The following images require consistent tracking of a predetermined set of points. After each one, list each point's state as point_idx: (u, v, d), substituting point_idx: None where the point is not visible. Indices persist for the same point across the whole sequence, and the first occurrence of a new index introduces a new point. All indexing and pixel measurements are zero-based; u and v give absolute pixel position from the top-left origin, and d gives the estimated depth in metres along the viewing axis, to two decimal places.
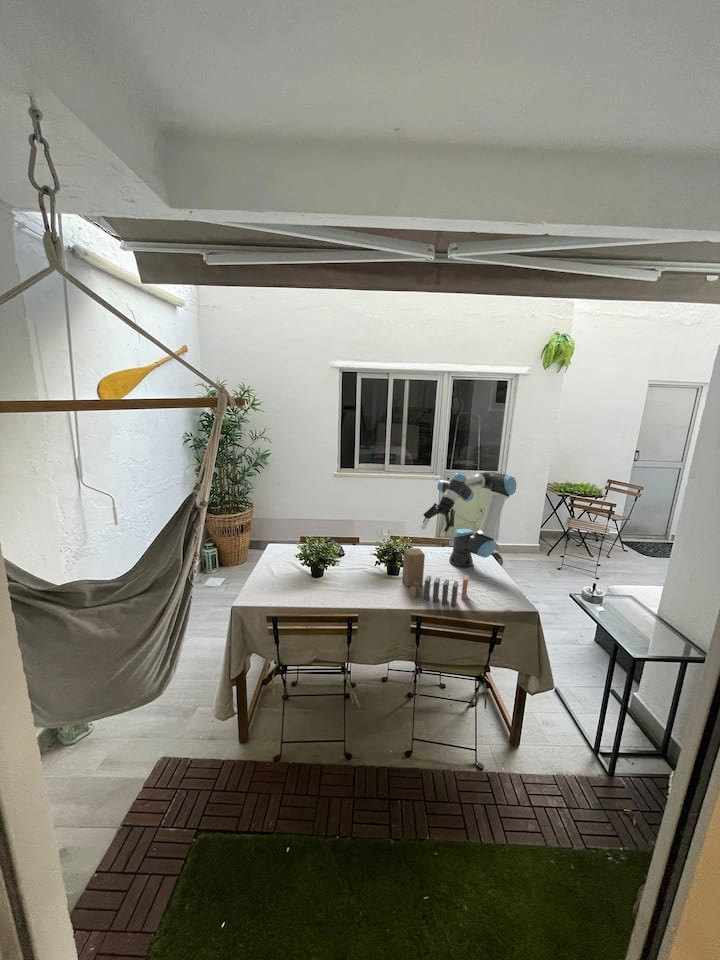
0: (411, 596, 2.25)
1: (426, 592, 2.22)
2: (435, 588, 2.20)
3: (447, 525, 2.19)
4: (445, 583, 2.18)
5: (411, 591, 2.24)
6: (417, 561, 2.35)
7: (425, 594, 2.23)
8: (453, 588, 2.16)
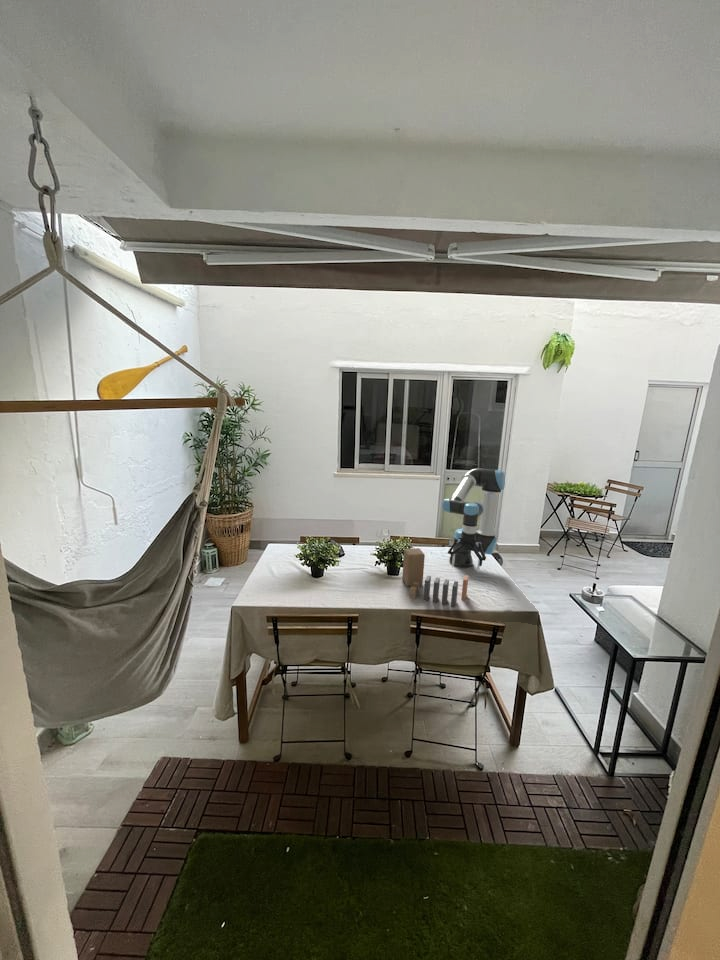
0: (411, 596, 2.25)
1: (426, 592, 2.22)
2: (435, 588, 2.20)
3: (481, 560, 2.19)
4: (445, 583, 2.18)
5: (411, 591, 2.24)
6: (417, 561, 2.35)
7: (425, 594, 2.23)
8: (453, 588, 2.16)
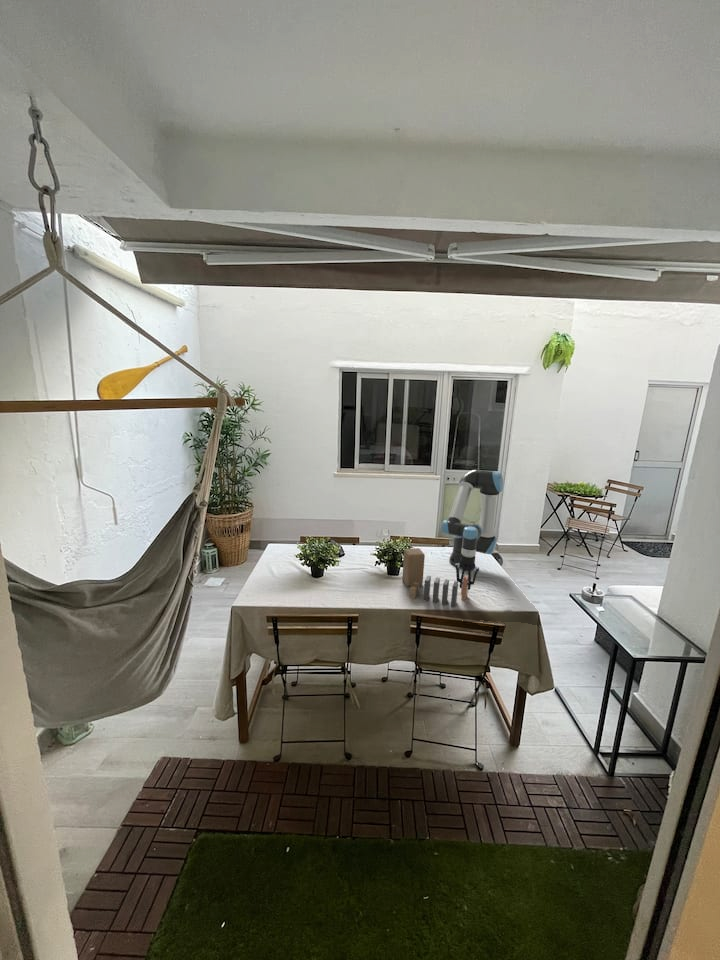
0: (411, 596, 2.25)
1: (426, 592, 2.22)
2: (435, 588, 2.20)
3: (469, 584, 2.24)
4: (445, 583, 2.18)
5: (411, 591, 2.24)
6: (417, 561, 2.35)
7: (425, 594, 2.23)
8: (453, 588, 2.16)
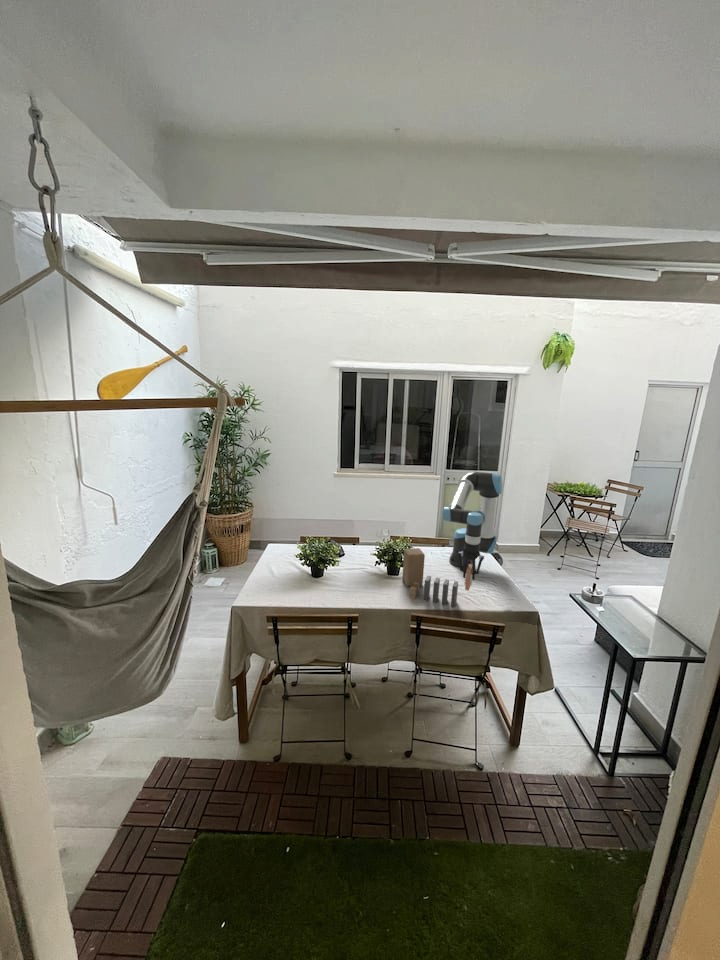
0: (411, 596, 2.25)
1: (426, 592, 2.22)
2: (435, 588, 2.20)
3: None
4: (445, 583, 2.18)
5: (411, 591, 2.24)
6: (417, 561, 2.35)
7: (425, 594, 2.23)
8: (453, 588, 2.16)
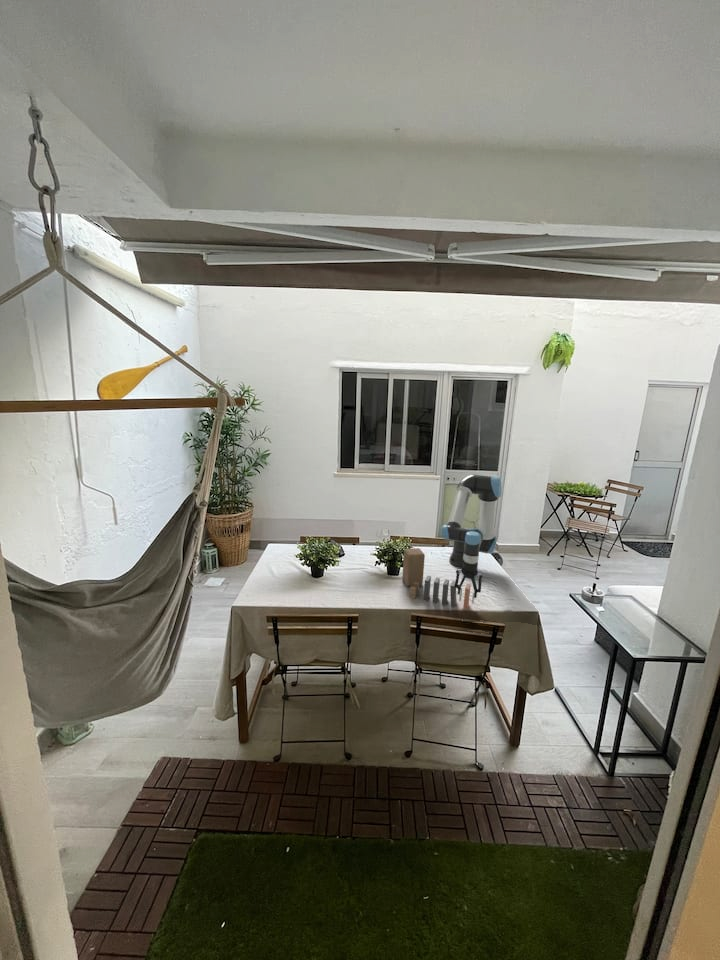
0: (411, 596, 2.25)
1: (426, 592, 2.22)
2: (435, 588, 2.20)
3: None
4: (445, 583, 2.18)
5: (411, 591, 2.24)
6: (417, 561, 2.35)
7: (425, 594, 2.23)
8: (451, 588, 2.16)
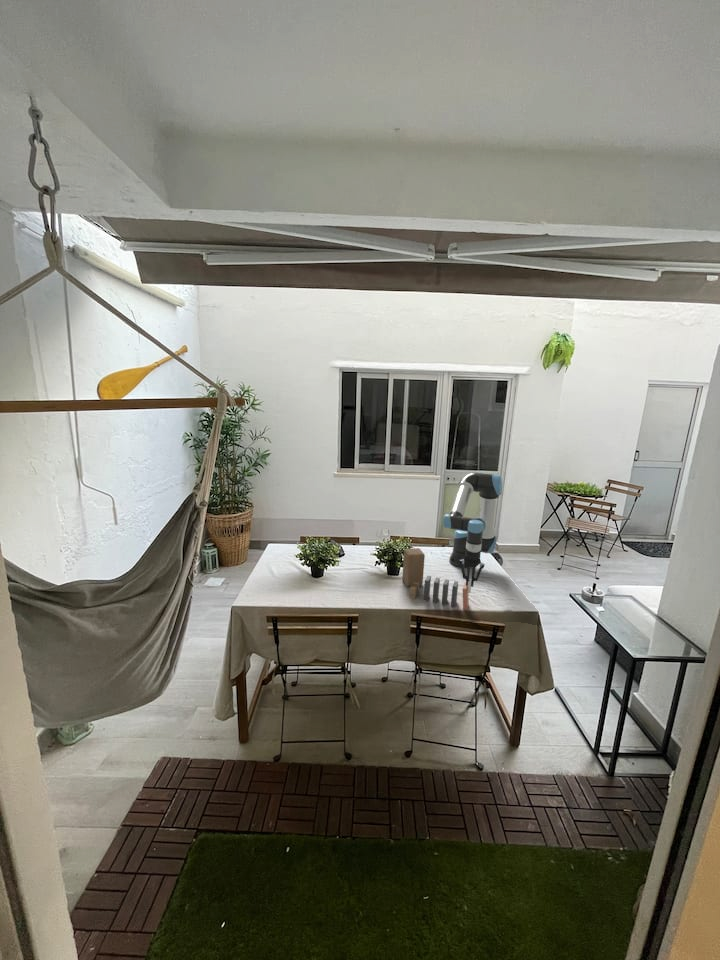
0: (411, 596, 2.25)
1: (426, 592, 2.22)
2: (435, 588, 2.20)
3: None
4: (445, 583, 2.18)
5: (411, 591, 2.24)
6: (417, 561, 2.35)
7: (425, 594, 2.23)
8: (453, 588, 2.16)
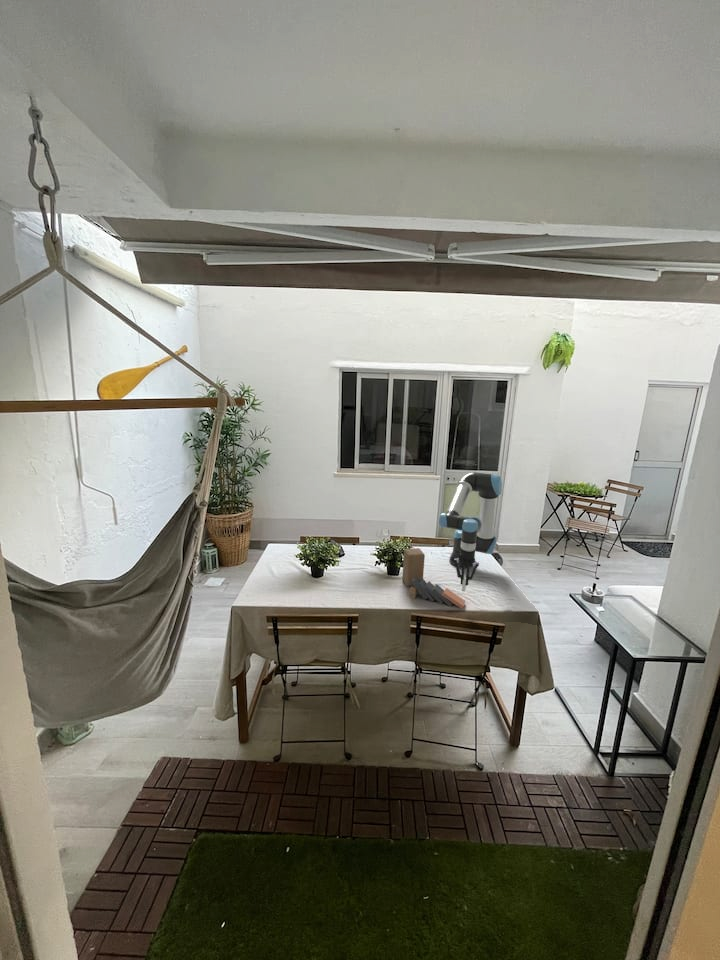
0: (411, 596, 2.25)
1: (421, 591, 2.23)
2: (423, 588, 2.23)
3: None
4: (426, 585, 2.23)
5: (411, 591, 2.24)
6: (417, 561, 2.35)
7: (422, 593, 2.23)
8: (434, 591, 2.20)
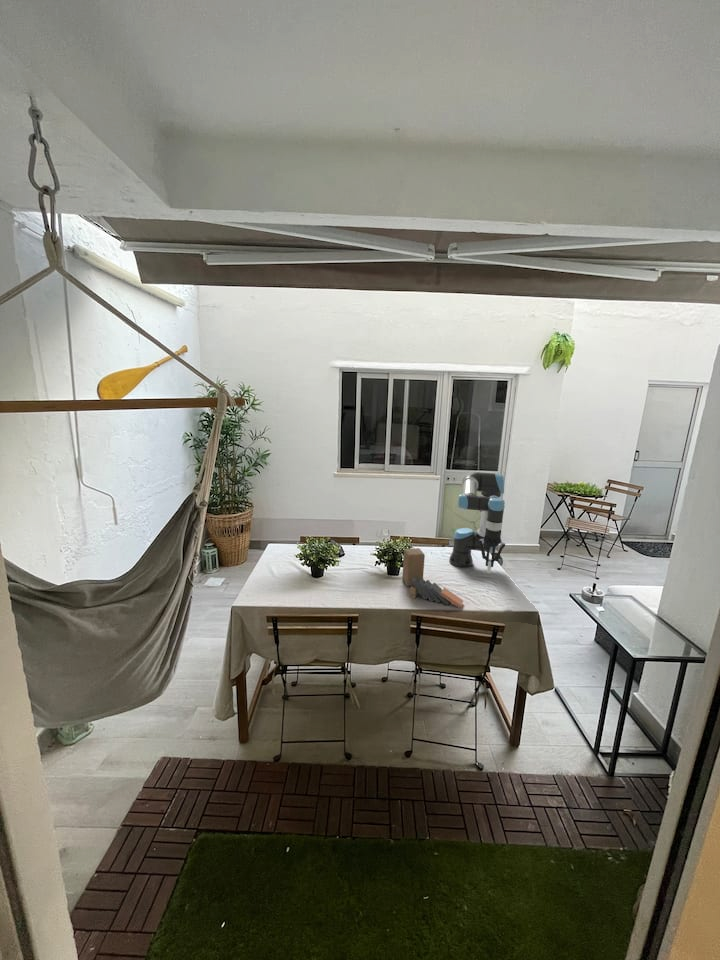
0: (411, 596, 2.25)
1: (421, 591, 2.23)
2: (422, 588, 2.23)
3: None
4: (424, 584, 2.23)
5: (411, 591, 2.24)
6: (417, 561, 2.35)
7: (422, 593, 2.23)
8: (432, 590, 2.21)
